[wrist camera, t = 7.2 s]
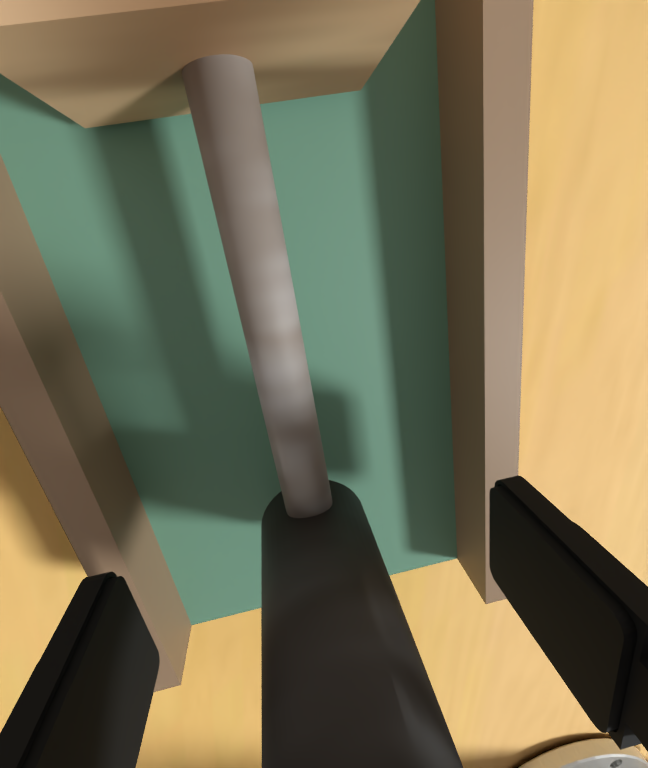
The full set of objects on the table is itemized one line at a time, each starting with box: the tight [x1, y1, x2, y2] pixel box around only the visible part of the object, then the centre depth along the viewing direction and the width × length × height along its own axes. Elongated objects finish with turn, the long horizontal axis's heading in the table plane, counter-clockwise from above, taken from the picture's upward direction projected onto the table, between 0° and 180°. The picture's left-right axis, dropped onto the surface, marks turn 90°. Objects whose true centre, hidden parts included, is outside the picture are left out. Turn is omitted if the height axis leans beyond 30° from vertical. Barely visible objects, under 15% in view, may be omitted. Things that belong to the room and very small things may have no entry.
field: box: [0, 0, 533, 692], centre depth 9 cm, size 12×26×5 cm, turn 9°
